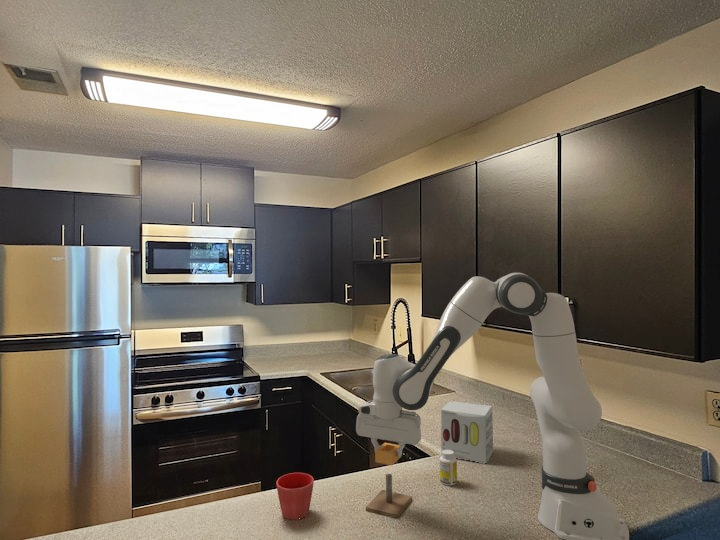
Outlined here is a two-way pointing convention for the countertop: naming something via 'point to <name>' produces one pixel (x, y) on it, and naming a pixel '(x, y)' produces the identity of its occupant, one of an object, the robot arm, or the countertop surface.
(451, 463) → the supplement bottle
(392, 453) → the orange hollow square block
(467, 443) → the supplement box
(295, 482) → the flower pot
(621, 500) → the countertop surface
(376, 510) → the peg mounting plate
